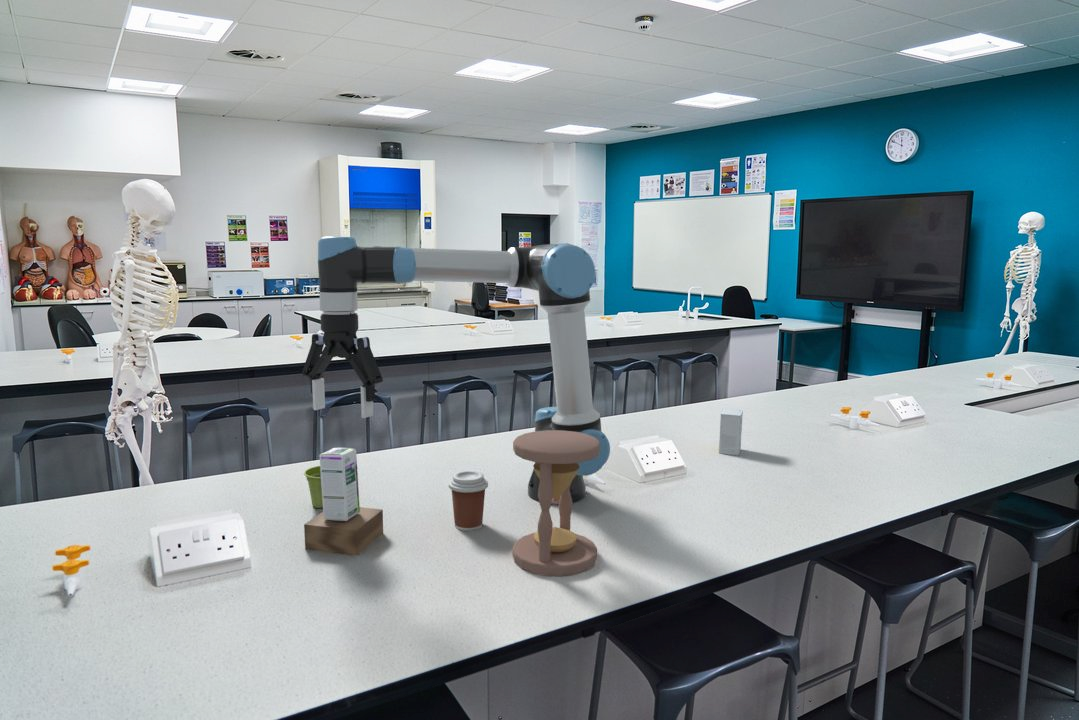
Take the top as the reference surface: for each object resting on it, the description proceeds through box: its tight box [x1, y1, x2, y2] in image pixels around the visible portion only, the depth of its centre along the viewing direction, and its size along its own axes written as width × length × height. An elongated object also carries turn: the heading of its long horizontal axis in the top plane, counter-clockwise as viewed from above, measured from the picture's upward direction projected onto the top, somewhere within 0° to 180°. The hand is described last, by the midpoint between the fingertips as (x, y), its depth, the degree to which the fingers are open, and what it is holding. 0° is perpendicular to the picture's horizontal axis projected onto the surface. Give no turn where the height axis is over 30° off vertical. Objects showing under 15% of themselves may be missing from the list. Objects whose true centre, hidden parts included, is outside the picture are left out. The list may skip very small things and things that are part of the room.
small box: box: [718, 408, 744, 456], centre depth 222 cm, size 8×6×13 cm
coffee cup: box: [448, 470, 489, 532], centre depth 160 cm, size 9×9×12 cm
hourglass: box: [511, 430, 600, 577], centre depth 142 cm, size 18×18×25 cm
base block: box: [303, 506, 384, 557], centre depth 151 cm, size 12×12×6 cm
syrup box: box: [318, 447, 361, 521], centre depth 149 cm, size 6×6×14 cm
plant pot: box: [303, 465, 323, 509], centre depth 172 cm, size 9×9×9 cm
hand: (342, 412), depth 147 cm, fingers open, 13 cm apart
